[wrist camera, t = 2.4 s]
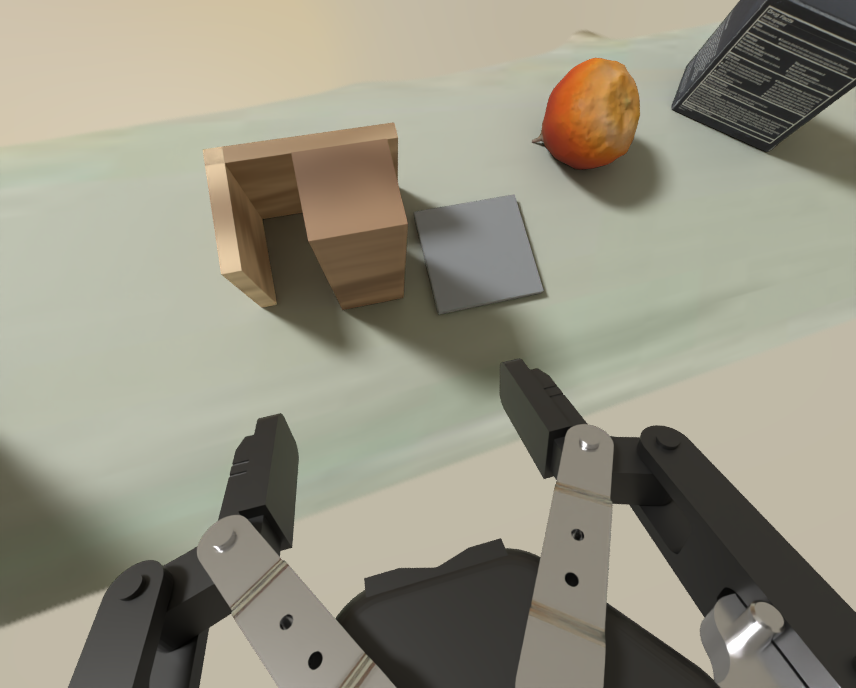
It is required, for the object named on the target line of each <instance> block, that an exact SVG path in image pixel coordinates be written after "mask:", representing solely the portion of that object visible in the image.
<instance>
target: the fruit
mask: <svg viewBox="0 0 856 688" xmlns="http://www.w3.org/2000/svg"><path fill="white" fill-rule="evenodd" d="M639 117H640V100H639V94H638V89H637V86H636V83H635V81H634V79H633V78H632V77H631V75H630V74H629V73H628V71H627V69H626V67H625V65H623V64H621V63H619V62H617V61H611V60H606V59H602V58H592V59H589V60H587V61H585V62H583V63H581V64H579V65H577V66H575V67H574V68H573V69H571V70H570V71H569V73H568V74H567V75H566V76H565V77H564V78H563V79H562V80H561V81H560V82H559V83H558V84H557V85H556V87H555V88H554V89H553V91H552V93H551V95H550V97H549V100H548V103H547V108H546V112H545V117H544V120H543V123H542V130H541V134H540V136H539V137H538V138H536V139H534V140H532V143H534V142H539V141H542V142H544V145H545V147H546V148H547V149H548V150H549V152H550V153H551V154H552V155H553V156H554V157H555V158H556V159H557V160H559V161H561V162H563V163H565V164H567V165H569V166H571V167H572V168H574V169H578V170H583V169H592V168H596V167H600V166H604V165H607V164H609V163H611V162H613V161H614V160H616V159H617V158H618V157H620V156H622V155H624V154H626V152H627V151H628V149H629V147H630V145H631V143H632V141H633V138H634V135H635V131H636V128H637V125H638V120H639Z"/></svg>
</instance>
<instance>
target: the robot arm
mask: <svg viewBox="0 0 856 688" xmlns="http://www.w3.org/2000/svg"><path fill="white" fill-rule="evenodd" d="M500 398H501V402H502V405H503V408H504V410H505V412H506V413H507V415H508V417H509V419H510V420H511V422H512V424H513V426H514V427H515V429H516V431H517V433H518V434H519V436H520V438H521V440H522V441H523V443H524V445H525V447H526V448H527V450H528V452H529V454H530V456H531V457H532V459H533V461H534V463H535V464H536V466H537V468H538V470H539V471H540V473H541V475H542V477H543V478H544V479H546V478H550V477H553V476H554V477H555V478H556V480H557V481H556V485H555V488H554V494H553V499H552V503H551V509H550V513H549V518H548V523H547V528H546V533H545V538H544V543H543V548H542V553H541V557H539V556H537V555H535V554H532V553H530V552H527V551H523V550H519V549H509V548H505V547H504V545H503V542H502V539H497V540H494V541H490V542H487V543H483V544H480V545H476V546H473V547H470V548H468V549H466V550H464V551H463V552H461V553H460V554H458V555H457V556H455V557H453V558H452V559H450V560H448V561H447V562H445V563H444V564H442V565H440V566H438V567H436V568H398V569H395V570H391V571H388V572H384V573H381V574H378V575H374V576H371V577H368V578H365V579H364V580H365V590H364V591H363V592H361V593H360V594H358V595H357V596H356V597H354V598H353V599H352V600H351V601H350V602H349V603H348V604H347V605H346V606H345V607H344V608H343V609H342V611H341V612H340V613H339V614H338V615H337V617H336V618H334V617H333V616H332V614H331V613H330V612H329V611H328V610H327V609H326V607H325V606H324V605H323V604H322V603H321V602H320V601H319V599H318V598H317V597H316V596H315V595H314V594H313V592H312V591H311V590H310V589H309V588H308V587H307V586H306V584H305V583H304V582H303V581H302V580H301V579H300V577H298V575H297V574H296V573H295V572H294V571H293V569H292V568H291V567H290V566H289V565H288V564H287V563H286V562H285V561H283V560H282V559H281V558H280V551H282V550H285V549H289V548H292V541H293V528H294V515H295V502H296V488H297V475H298V461H299V456H298V449H297V445H296V442H295V440H294V437H293V435H292V433H291V431H290V429H289V427H288V424H287V422H286V420H285V418H284V416H283V415H282V414H281V413H280V414H276V415H271V416H267V417H263V418H259V419H258V420H257V424H256V429H255V433H254V435H252V436H247V437H245V438H244V439H243V441H242V442H241V444H240V445H239V446H238V448H237V449H236V452H235V456H234V459H233V463H232V464H233V466H232V467H231V471H230V477H229V479H228V483H227V487H226V491H225V495H224V499H223V503H222V507H221V511H220V515H219V519H218V521H217V522H216V523H214V524H213V525H212V526H211V527H210V528H209V529H208V530H207V531H206V532H205V533H204V535H203V536H202V538H201V539H200V541H199V544H198V546H197V547H196V548H194V549H192V550H191V551H189V552H187V553H186V554H184V555H182V556H180V557H178V558H177V559H175V560H173V561H171V562H169V563H168V564H166V565H164V566H162V565H161V564H160V563H159V562H157V561H154V560H147V561H143V562H140V563H137V564H135V565H133V566H131V567H130V568H128V569H127V570H126V571H124V572H123V573H122V574H121V575H119V576H118V577H117V578H116V579H115V581H114V582H113V583H112V584H111V585H110V587H109V588H108V589H107V591H106V593H105V595H104V597H103V599H102V602H101V605H100V607H99V609H98V612H97V614H96V617H95V620H94V622H93V625H92V627H91V630H90V632H89V635H88V638H87V640H86V643H85V645H84V648H83V650H82V653H81V656H80V658H79V661H78V663H77V666H76V668H75V671H74V674H73V676H72V679H71V681H70V684H69V686H68V688H199V685H200V679H201V673H202V667H203V661H204V655H205V649H206V643H207V637H208V631H209V627H211V626H213V625H214V624H216V623H217V622H219V621H220V620H222V619H223V618H225V617H227V616H228V615H229V614H232V616H233V618H234V619H235V621H236V623H237V624H238V626H239V627H240V629H241V630H242V632H243V633H244V635H245V636H246V638H247V640H248V641H249V643H250V644H251V646H252V647H253V649H254V650H255V652H256V653H257V655H258V656H259V658H260V660H261V661H262V663H263V664H264V666H265V667H266V669H267V670H268V672H269V673H270V675H271V677H272V678H273V679H274V681H275V683H276V684H277V686H278V687H279V688H856V612H855V611H854V610H853V609H852V608H851V607H850V606H849V605H848V604H847V603H846V602H845V601H844V600H843V599H842V598H841V597H840V596H839V595H838V594H837V593H836V592H835V591H834V589H833V588H831V586H830V585H829V584H828V583H827V582H826V581H825V580H824V579H823V578H822V577H821V576H820V575H819V574H818V573H817V572H816V571H815V570H814V569H813V568H812V567H811V566H810V565H809V563H808V562H807V561H805V559H804V558H803V557H802V556H801V555H800V554H799V553H798V552H797V551H796V550H795V549H794V548H793V547H792V546H791V545H790V544H789V543H788V542H787V541H786V540H785V539H784V538H783V536H782V535H781V534H780V533H779V532H778V531H776V530H775V528H774V527H773V526H772V525H771V524H770V523H769V522H768V521H767V520H766V519H765V518H764V517H763V516H762V515H761V514H760V513H759V512H758V511H757V509H756V508H755V507H754V506H753V505H752V504H751V503H750V502H749V501H748V500H747V499H746V498H745V497H744V496H743V495H742V494H741V493H740V492H739V491H738V490H737V489H736V488H735V487H734V486H733V485H732V484H731V483H730V482H729V480H728V479H727V478H726V477H725V476H724V475H723V474H722V473H721V472H720V471H719V470H718V469H717V468H716V467H715V466H714V465H713V464H712V463H711V462H710V461H709V460H708V459H707V458H706V457H705V456H704V454H702V453H701V451H700V450H699V449H698V448H697V447H696V446H695V445H694V444H693V443H692V442H691V441H690V440H689V439H688V438H687V437H686V436H685V435H683V434H682V433H680V432H678V431H677V430H675V429H673V428H670V427H666V426H650V427H647V428H645V429H644V430H643V431H642V433H641V436H640V438H639V437H638V438H637V437H612V436H609V435H608V434H607V433H606V432H605V431H604V430H602V429H600V428H598V427H596V426H593V425H588V424H587V423H586V421H585V420H584V419H583V418H582V416H581V415H580V414H579V413H578V411H577V410H576V409H575V408H574V406H573V405H572V404H571V403H570V401H569V400H568V399H567V398H566V396H565V395H563V393H562V391H561V390H560V389H559V388H558V387H557V385H556V384H555V382H554V381H553V380H552V379H551V377H550V376H549V375H547V374H546V373H544V372H542V371H541V370H539V369H532V370H530V369H529V368H528V367H527V365H526V364H525V363H524V361H523V360H522V359H515V360H511V361H506V362H502V363H501V364H500ZM612 504H629V505H630V506H631V508H632V509H633V511H634V512H635V514H636V515H637V517H638V518H639V520H640V521H641V523H642V524H643V526H644V527H645V529H646V530H647V532H648V533H649V535H650V536H651V538H652V539H653V541H654V542H655V544H656V545H657V547H658V548H659V550H660V551H661V553H662V554H663V556H664V557H665V559H666V560H667V562H668V563H669V565H670V566H671V568H672V569H673V571H674V572H675V574H676V575H677V577H678V578H679V580H680V581H681V583H682V584H683V586H684V587H685V589H686V590H687V592H688V593H689V595H690V596H691V598H692V599H693V601H694V602H695V604H696V605H697V607H698V608H699V610H700V611H701V613H702V614H703V616H704V617H705V619H704V620H703V621H702V623H701V627H700V636H701V641H702V644H703V646H704V648H705V651H706V652H707V655H708V656H709V659H710V661H711V664H712V668H713V672H714V680H713V679H712V678H711V677H710V676H709V675H708V674H707V673H705V672H704V671H703V670H702V669H701V668H700V667H698V666H697V665H695V664H694V663H692V662H691V661H690V660H688V659H687V658H685V657H684V656H683V655H681V654H680V653H678V652H677V651H675V650H674V649H673V648H671V647H670V646H668V645H667V644H665V643H664V642H663V641H661V640H660V639H658V638H657V637H655V636H654V635H652V634H651V633H649V632H648V631H647V630H645V629H644V628H642V627H641V626H640V625H638V624H637V623H635V622H634V621H632V620H631V619H630V618H628V617H627V616H625V615H624V614H622V613H621V612H619V611H618V610H617V609H615V608H614V607H612V606H611V605H609V604H608V603H607V602H606V600H607V585H608V570H609V554H610V553H609V552H610V538H611V523H612Z"/></svg>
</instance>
